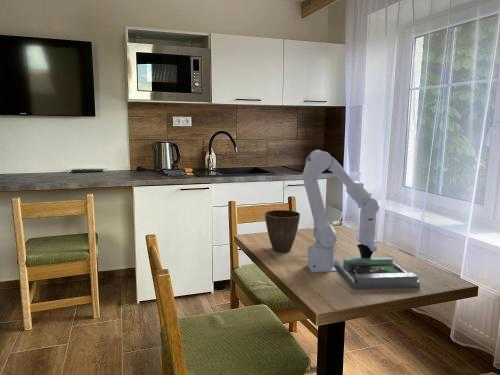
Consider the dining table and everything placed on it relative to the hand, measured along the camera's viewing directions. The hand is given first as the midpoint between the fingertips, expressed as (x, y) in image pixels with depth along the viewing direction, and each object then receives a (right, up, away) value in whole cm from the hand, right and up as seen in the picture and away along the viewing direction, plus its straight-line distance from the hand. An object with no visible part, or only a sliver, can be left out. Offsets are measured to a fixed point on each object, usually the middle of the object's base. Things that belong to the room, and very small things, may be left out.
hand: (365, 263), depth 150 cm
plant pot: (-30, +2, +21) cm, 36 cm away
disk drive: (+2, -3, -9) cm, 10 cm away
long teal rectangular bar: (0, -2, -2) cm, 3 cm away
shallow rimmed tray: (+1, -3, -8) cm, 9 cm away
